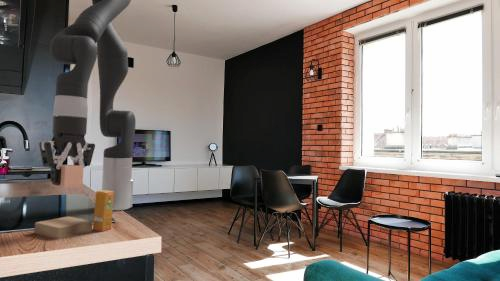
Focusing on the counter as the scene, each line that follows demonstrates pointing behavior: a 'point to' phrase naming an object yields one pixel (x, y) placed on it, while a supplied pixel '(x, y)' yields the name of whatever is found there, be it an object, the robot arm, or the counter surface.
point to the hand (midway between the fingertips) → (66, 183)
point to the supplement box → (103, 210)
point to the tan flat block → (63, 227)
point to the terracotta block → (71, 176)
